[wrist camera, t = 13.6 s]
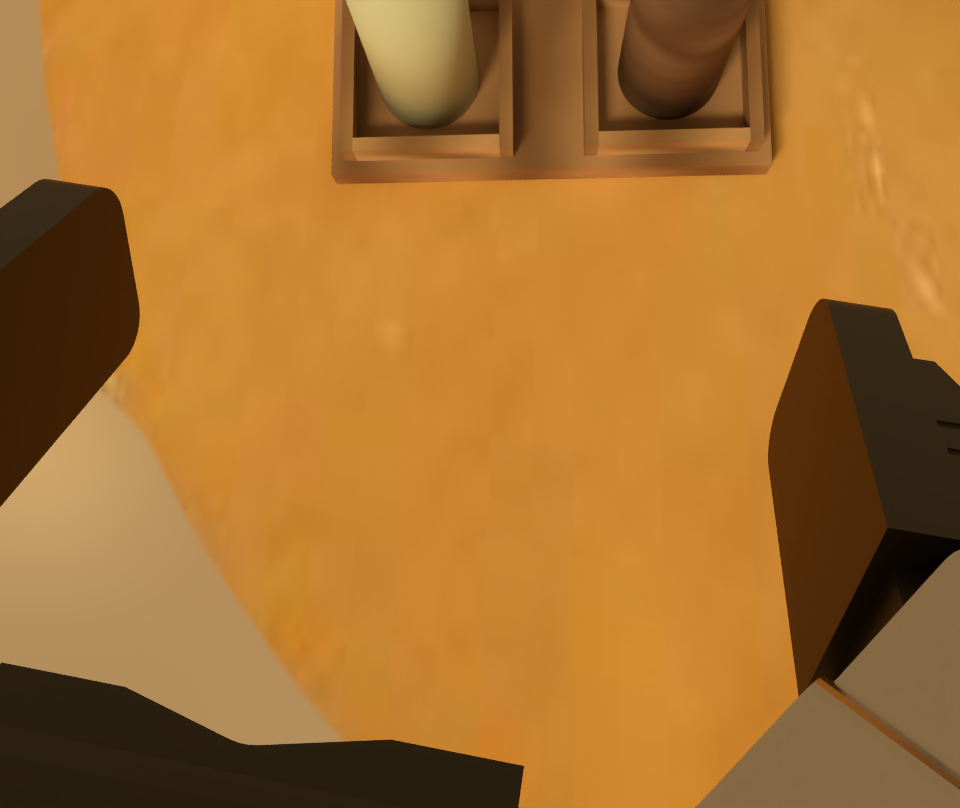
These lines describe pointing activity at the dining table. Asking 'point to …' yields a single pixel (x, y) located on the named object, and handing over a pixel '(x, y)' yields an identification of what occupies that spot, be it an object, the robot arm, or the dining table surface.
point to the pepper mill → (676, 53)
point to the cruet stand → (551, 106)
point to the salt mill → (420, 57)
